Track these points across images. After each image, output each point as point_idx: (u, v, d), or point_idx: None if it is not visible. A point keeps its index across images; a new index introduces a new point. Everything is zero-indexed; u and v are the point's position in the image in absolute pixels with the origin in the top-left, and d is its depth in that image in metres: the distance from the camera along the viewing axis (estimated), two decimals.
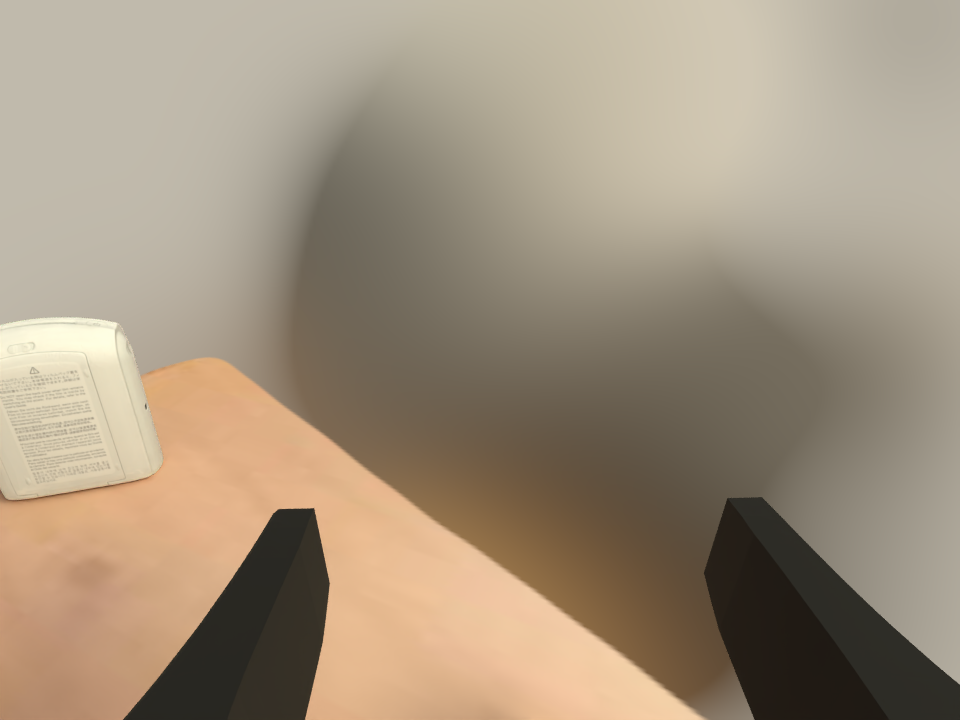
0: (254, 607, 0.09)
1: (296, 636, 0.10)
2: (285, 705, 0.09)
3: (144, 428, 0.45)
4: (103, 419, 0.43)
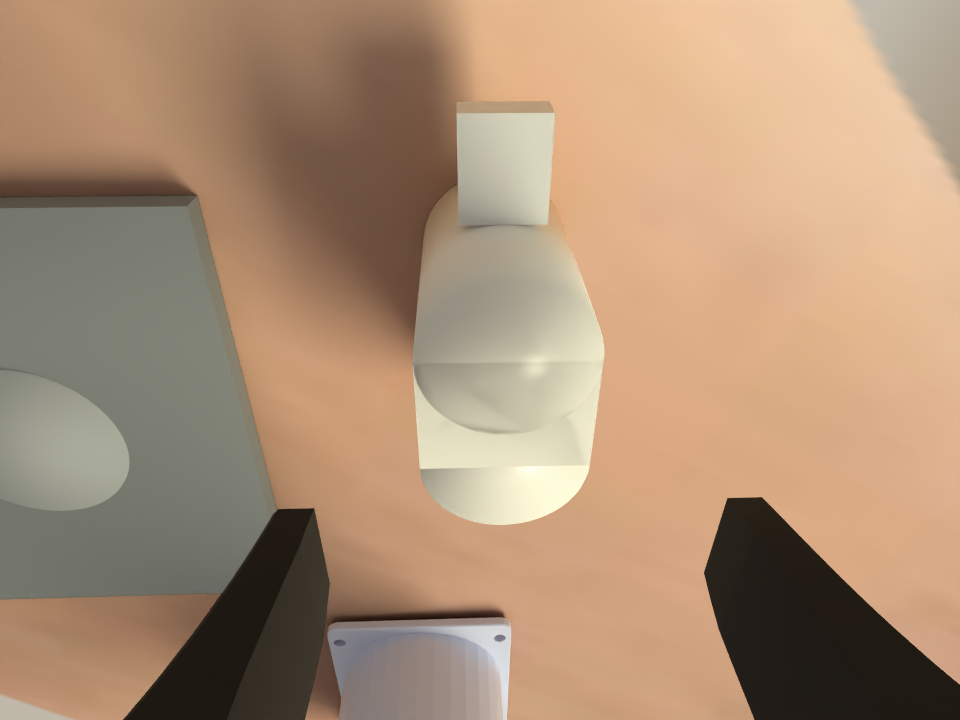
0: (254, 607, 0.09)
1: (296, 636, 0.10)
2: (285, 705, 0.09)
3: None
4: None
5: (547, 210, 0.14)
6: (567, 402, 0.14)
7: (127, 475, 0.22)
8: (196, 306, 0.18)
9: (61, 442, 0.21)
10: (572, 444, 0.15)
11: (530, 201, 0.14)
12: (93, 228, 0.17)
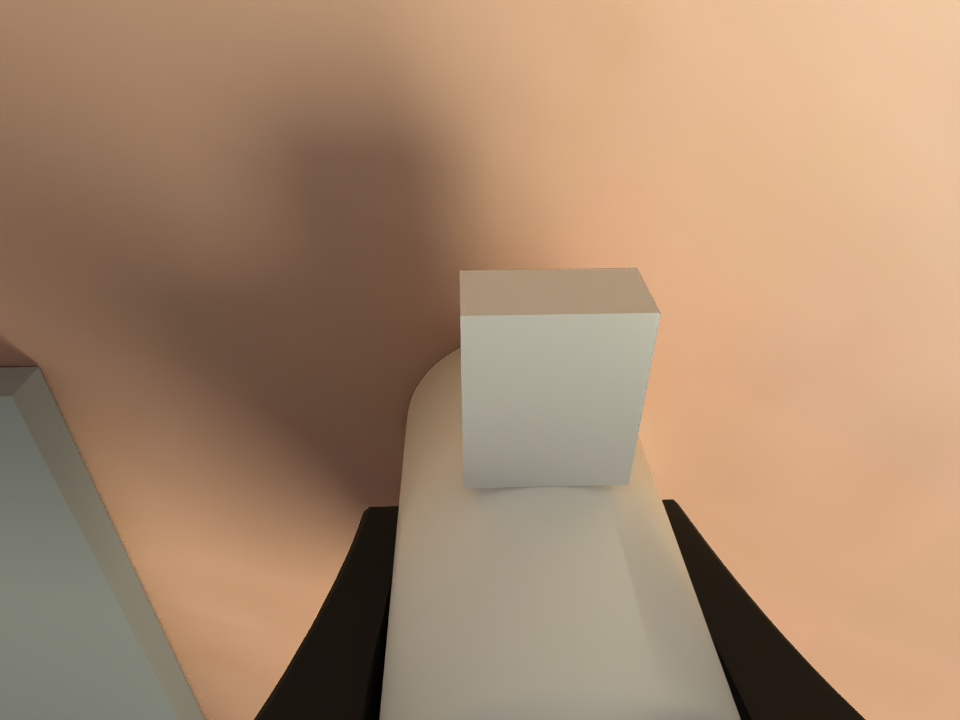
0: (366, 604, 0.09)
1: None
2: None
3: None
4: None
5: (630, 465, 0.08)
6: None
7: None
8: (51, 526, 0.12)
9: None
10: None
11: (599, 451, 0.07)
12: None
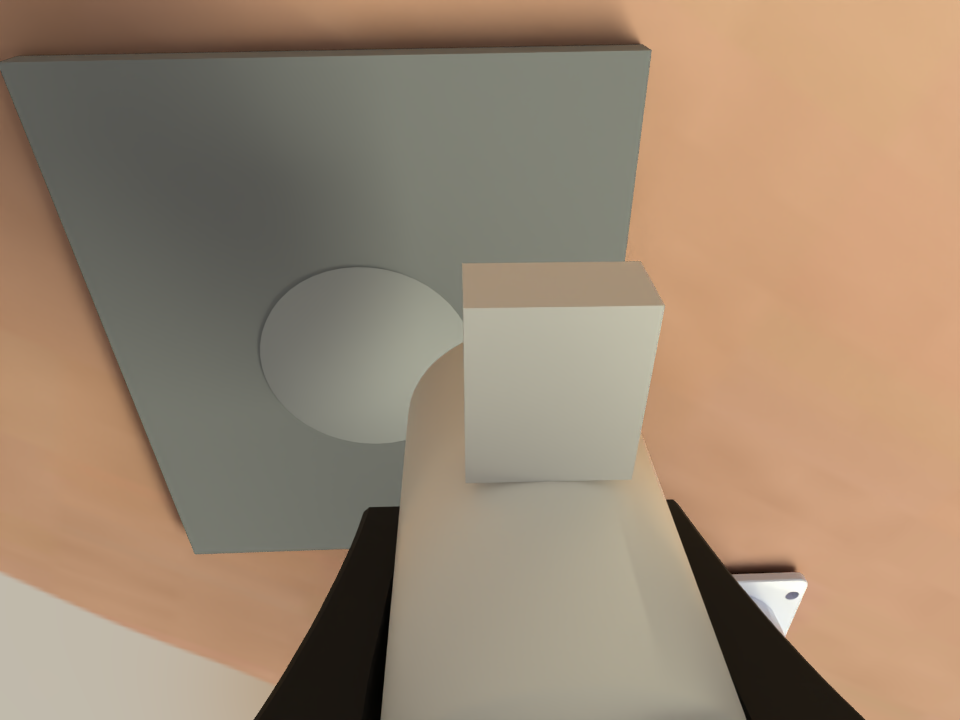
0: (366, 604, 0.09)
1: None
2: None
3: None
4: None
5: (633, 459, 0.08)
6: None
7: None
8: (615, 184, 0.16)
9: (405, 358, 0.18)
10: None
11: (602, 446, 0.07)
12: (533, 81, 0.14)
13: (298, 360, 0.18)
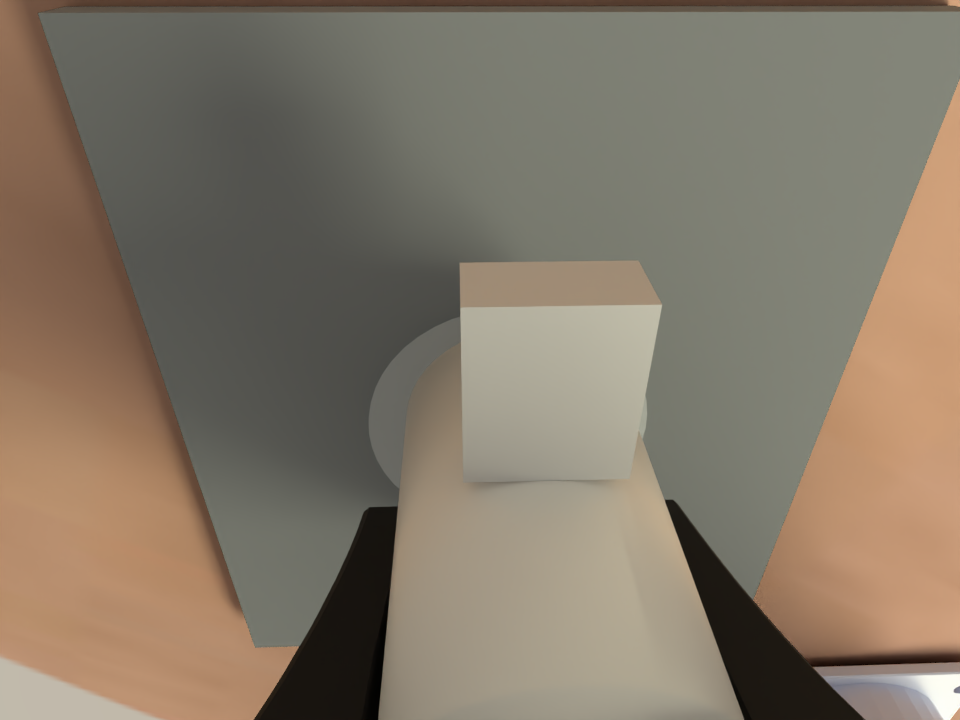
0: (366, 604, 0.09)
1: None
2: None
3: None
4: None
5: (631, 459, 0.08)
6: None
7: None
8: (884, 201, 0.11)
9: None
10: None
11: (600, 445, 0.07)
12: (807, 54, 0.10)
13: None
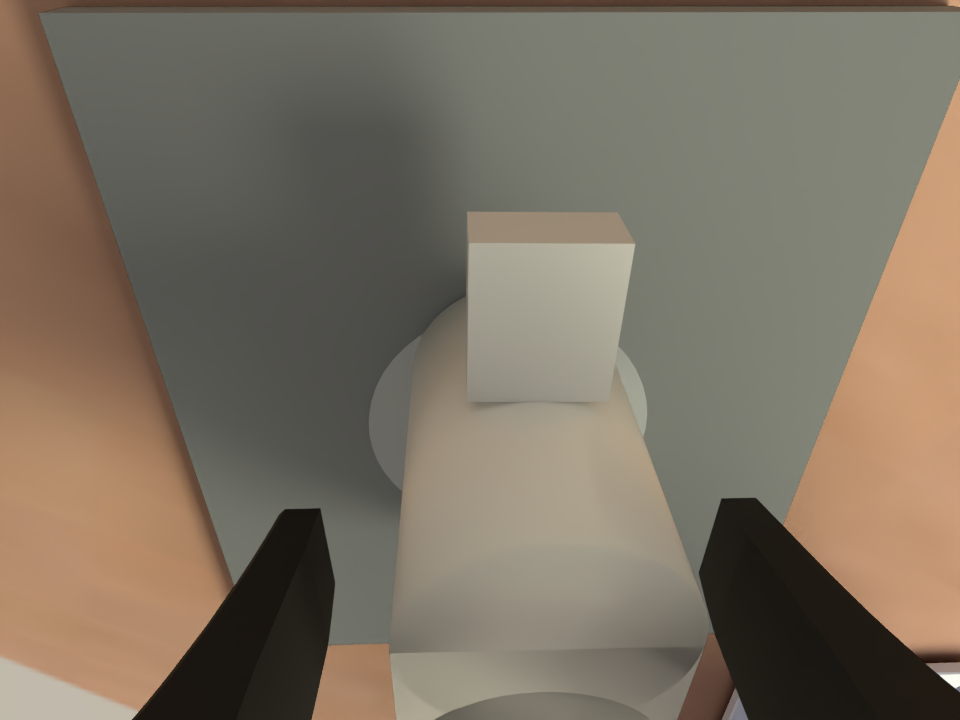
0: (262, 607, 0.09)
1: (303, 636, 0.10)
2: (292, 705, 0.09)
3: None
4: None
5: (609, 382, 0.09)
6: (638, 693, 0.09)
7: None
8: (884, 201, 0.11)
9: None
10: None
11: (583, 370, 0.09)
12: (807, 54, 0.10)
13: None
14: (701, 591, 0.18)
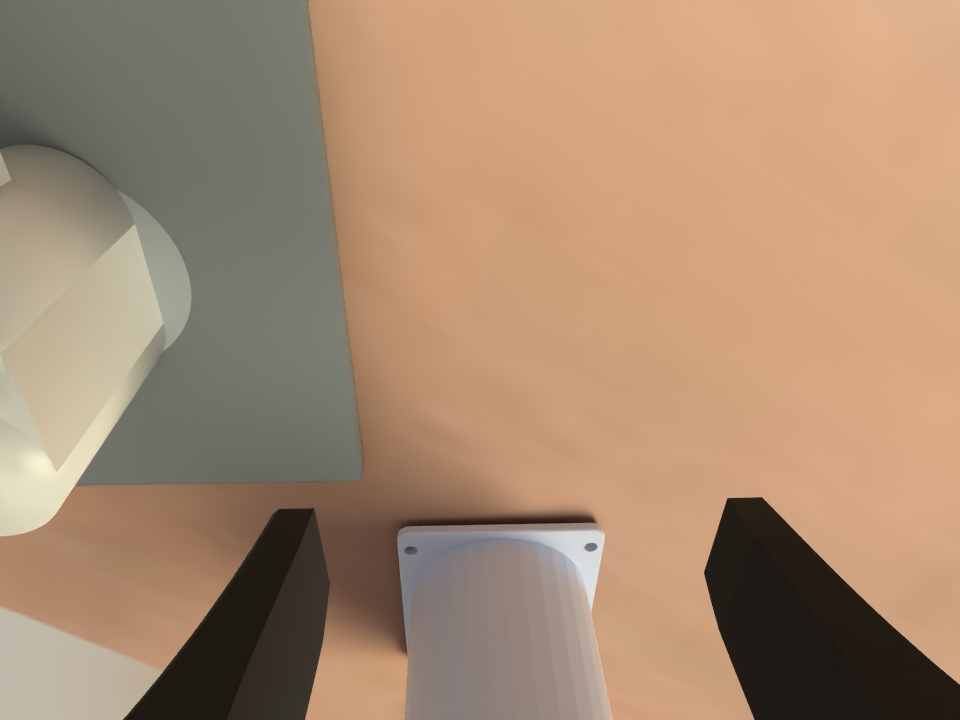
0: (254, 607, 0.09)
1: (296, 636, 0.10)
2: (285, 705, 0.09)
3: None
4: None
5: None
6: None
7: (187, 319, 0.18)
8: (289, 78, 0.15)
9: None
10: (23, 448, 0.13)
11: None
12: None
13: None
14: (309, 438, 0.21)
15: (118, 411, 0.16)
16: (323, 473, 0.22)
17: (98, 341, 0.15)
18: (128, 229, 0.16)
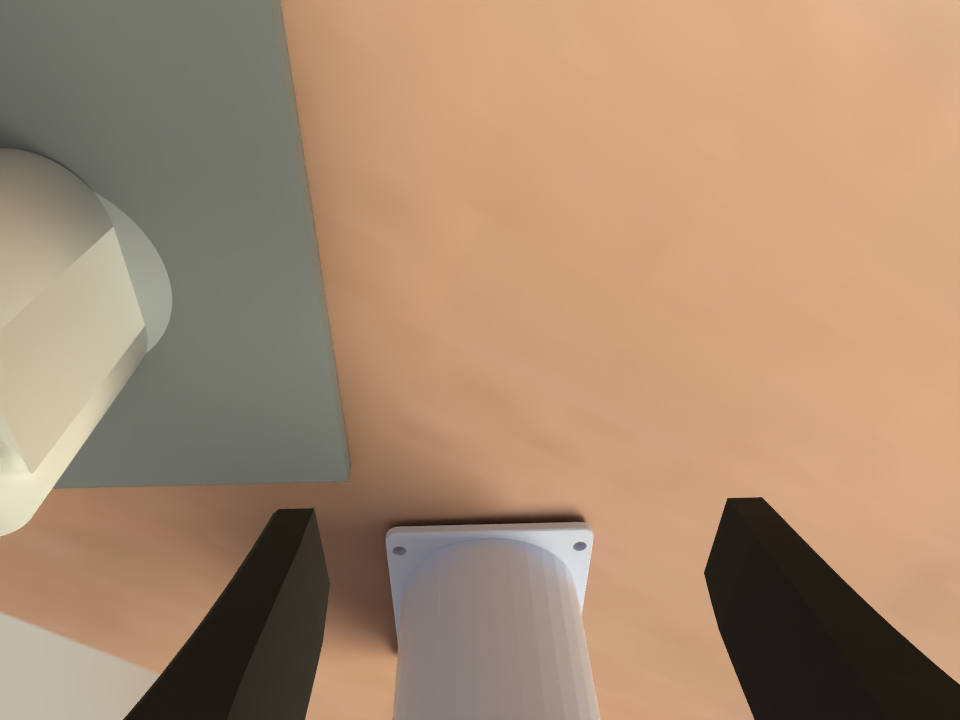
0: (254, 607, 0.09)
1: (296, 636, 0.10)
2: (285, 705, 0.09)
3: None
4: None
5: None
6: None
7: (169, 322, 0.18)
8: (263, 79, 0.15)
9: None
10: None
11: None
12: None
13: None
14: (293, 439, 0.21)
15: (97, 413, 0.16)
16: (309, 474, 0.22)
17: (75, 344, 0.15)
18: (107, 232, 0.16)
